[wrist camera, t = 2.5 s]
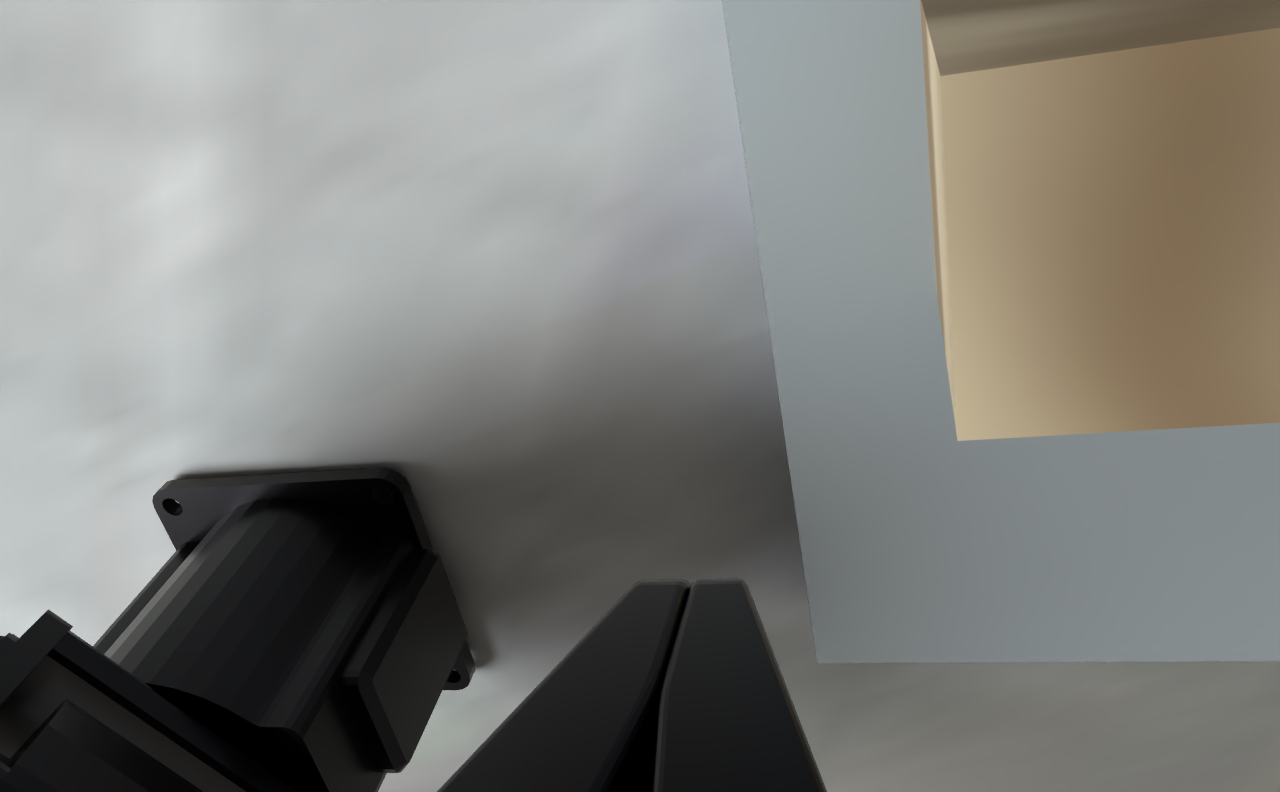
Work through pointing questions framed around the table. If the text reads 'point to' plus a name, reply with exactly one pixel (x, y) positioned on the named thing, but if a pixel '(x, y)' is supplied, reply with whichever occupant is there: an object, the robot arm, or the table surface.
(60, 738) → the robot arm
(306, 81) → the table surface
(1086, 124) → the block
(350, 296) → the table surface
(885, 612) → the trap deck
